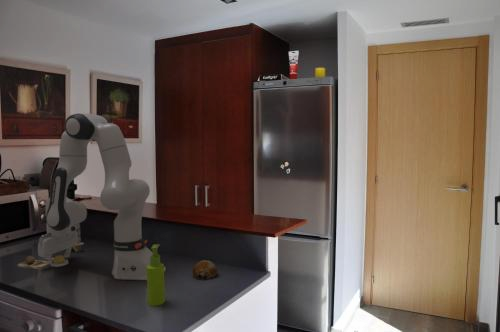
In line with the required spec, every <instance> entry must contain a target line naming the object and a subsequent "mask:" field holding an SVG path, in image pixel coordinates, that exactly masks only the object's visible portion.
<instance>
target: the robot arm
mask: <svg viewBox="0 0 500 332" xmlns="http://www.w3.org/2000/svg"><path fill="white" fill-rule="evenodd" d="M91 141H93V142H96V144H97V146H98V150H99V154H100V158H101V162H102V165H103V168H104V169H103V170H104V185H103V188H102V190H101V191H100V192H101V193H100V195H99V196H100V197H99V198H100V203H101V204H102V205H103V206H104V208H106V209H107V210H110V211H111V210H116V211H117V210H118V214H117V216H116V217H115V219H114V221H113V236H114V239H113V250H114V259H113V266H112V269H111V275H112V276H113V279H114V280H129V281H130V280H132V281H133V280H135V281H147V266H148V265H149V264H150V256H151V255H152V251H151V249H150V248H149V247H147V245H146V244H147V243H148V239H146V240H144V238H143V237H142V219H143V212H144V208H145V204H146V201H147V199H148V197H149V196H150V192H151V191H150V186H149V184H148V183H147V182H146V181H145V180H143V179H140V178H139V179H137V178H132V179H130V169H131V167H132V159H131V157H130V153H129V152H130V151H129V149H128V146H127V142H126V140H125V137H124V134H123V132H122V130H121V129H120V127H119V126H118V125H117V124H115V123H112V121H111V119H110V118H108V117H107V116H104V115H101V114H93V113H74V114H71V115H69V116H67V118H66V119H65V122H64V131H63V133H62V134H61V137H60V141H59V142H60V143H59V156H58V164H57V167H56V170H55V171H54V173H53V175H52V176H53V177H52V183H51V187H50V188H51V189H50V196H49V197H47V198H46V201H45V221H46V234H42V235H40V237H39V238H38V244H37V255H38V256H39V257H40V258H41V257H42V258H45V257H46V258H47V259H46V260H47V261H48V264H53V263H54V259H52V258H53V256H52V255H53V254H56V253H60V252H61V251H64V250H66V251H65V253H63V254H64V255H63V257H64V259H65V258H67V259H68V258H69V257H70V256H71V255H70V253H71V251H72V246H75V245H77V243H78V235H77V232H76V230H77V226H73V225H75V224H78V223H80V224H81V223H82V222H84V221H86V219H87V217H88V209H87V206H85V204H84V203H83V202H80V201H79V202H78V201H75V200H72V199H71V198H68V196H67V193H68V188H69V186H70V184H71V182H72V181H73V180H74V179H77V177H78V176H81V174H83V173H84V171H85V170H86V169H87V165H88V145H89V144H90V143H91ZM166 271H167V268H166V266H164V273H165V272H166Z"/></svg>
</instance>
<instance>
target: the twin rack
mask: <svg viewBox="0 0 500 332" xmlns="http://www.w3.org/2000/svg"><path fill="white" fill-rule="evenodd" d="M53 264H54V263H53ZM16 266H17V268H25V269H33V270H34V269H35V270H43V269H45V268H48V267H52V266H51V264H48V260H47V261H46V260H39V259H38V260H37V259H35V262H34V263H33V264H32V265H27V264H26V263H25V261H24V262H23V261H22V262H20V263H18V264H17V265H16Z"/></svg>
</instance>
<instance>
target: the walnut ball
mask: <svg viewBox="0 0 500 332" xmlns="http://www.w3.org/2000/svg"><path fill="white" fill-rule="evenodd" d="M35 260H36V258H35V256H33V255H28V256H26V257H25V259H24V262H25V263H26V264H27V265H32V264H33V263H34V262H35Z"/></svg>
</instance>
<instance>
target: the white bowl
mask: <svg viewBox="0 0 500 332" xmlns="http://www.w3.org/2000/svg"><path fill="white" fill-rule="evenodd" d="M66 265H69V260H68V259H65V258H64V262H63V263H61V264H56V263H55V261H54V264H51V266H50V267H55V268H57V267H64V266H66Z"/></svg>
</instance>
